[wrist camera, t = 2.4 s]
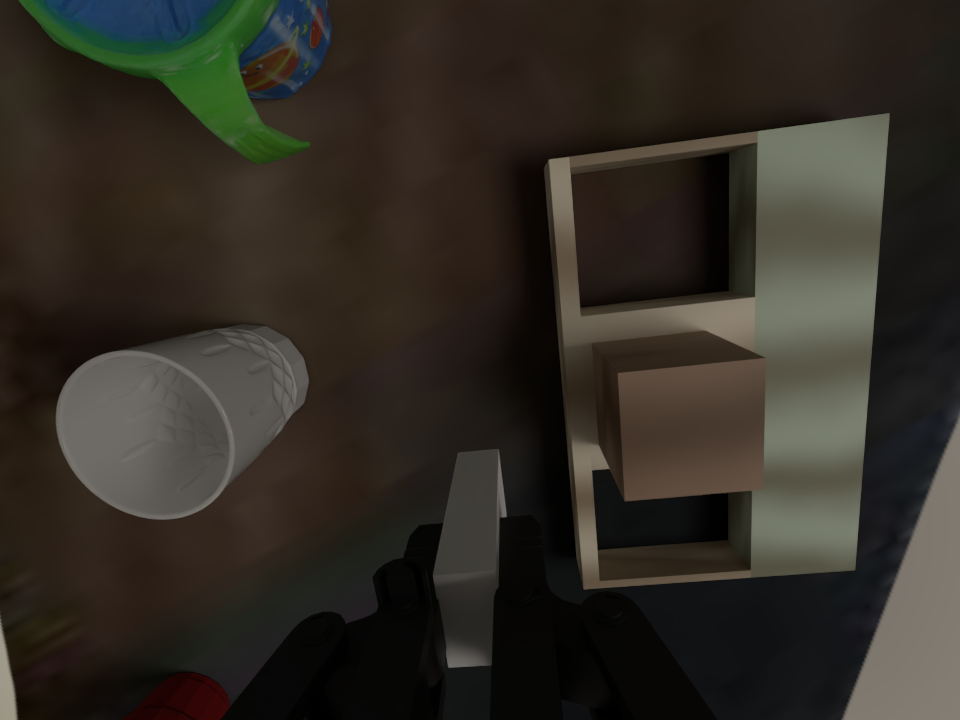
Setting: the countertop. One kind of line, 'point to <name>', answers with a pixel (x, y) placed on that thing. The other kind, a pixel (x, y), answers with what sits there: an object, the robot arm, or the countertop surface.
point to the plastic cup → (183, 700)
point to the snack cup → (204, 55)
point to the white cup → (178, 416)
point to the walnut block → (680, 415)
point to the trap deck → (750, 345)
